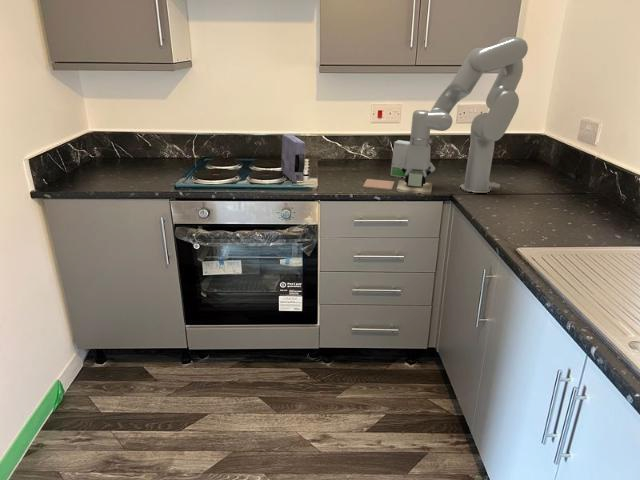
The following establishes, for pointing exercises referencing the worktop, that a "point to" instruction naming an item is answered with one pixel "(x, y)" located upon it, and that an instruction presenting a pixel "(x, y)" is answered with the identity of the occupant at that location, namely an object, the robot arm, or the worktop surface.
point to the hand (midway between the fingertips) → (414, 184)
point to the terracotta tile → (378, 184)
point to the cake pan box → (293, 157)
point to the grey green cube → (415, 178)
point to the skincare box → (399, 158)
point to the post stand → (414, 188)
